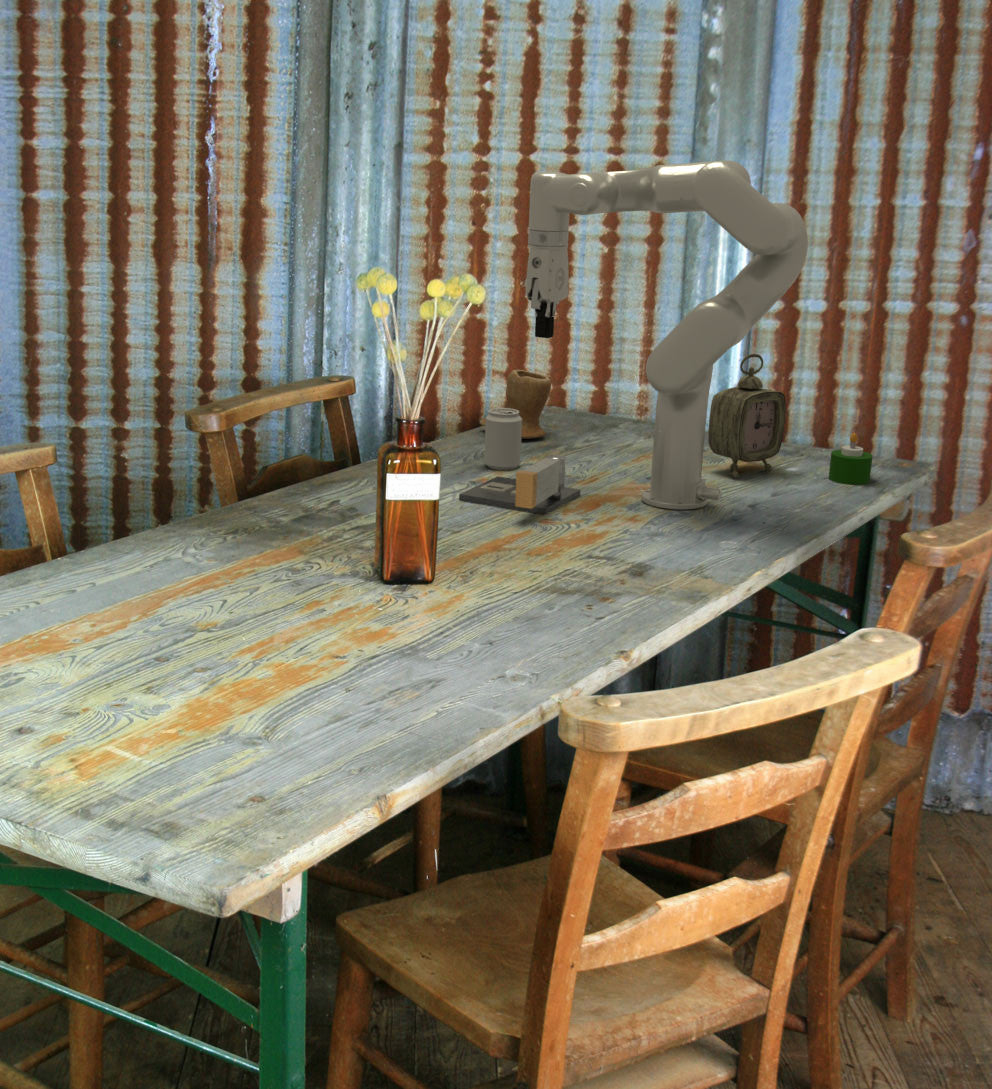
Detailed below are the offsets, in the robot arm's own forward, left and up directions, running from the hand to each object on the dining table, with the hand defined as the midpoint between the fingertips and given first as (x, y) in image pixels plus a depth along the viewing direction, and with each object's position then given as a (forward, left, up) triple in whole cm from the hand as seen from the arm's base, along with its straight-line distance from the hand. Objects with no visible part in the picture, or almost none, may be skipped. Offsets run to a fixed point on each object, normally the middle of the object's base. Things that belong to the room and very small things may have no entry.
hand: (544, 337), depth 256 cm
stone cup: (+22, -37, -29) cm, 52 cm away
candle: (-53, -39, -29) cm, 72 cm away
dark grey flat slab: (-2, +12, -29) cm, 32 cm away
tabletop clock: (-32, -32, -29) cm, 54 cm away
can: (+12, -8, -29) cm, 33 cm away
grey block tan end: (-9, +19, -26) cm, 34 cm away
